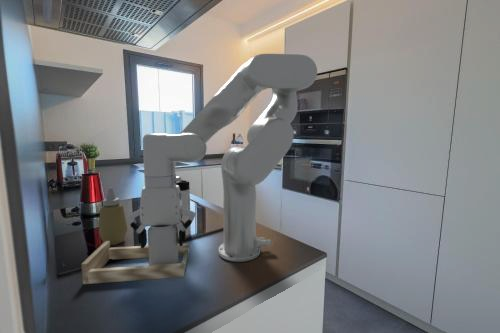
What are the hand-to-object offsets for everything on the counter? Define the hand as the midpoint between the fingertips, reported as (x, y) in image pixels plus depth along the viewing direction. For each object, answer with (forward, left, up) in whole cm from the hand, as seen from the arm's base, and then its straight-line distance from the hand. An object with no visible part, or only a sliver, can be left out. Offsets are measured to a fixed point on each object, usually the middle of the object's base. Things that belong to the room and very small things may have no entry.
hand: (163, 244), depth 65 cm
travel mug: (-2, -19, -6) cm, 20 cm away
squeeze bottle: (+19, -17, -6) cm, 26 cm away
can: (0, 0, -6) cm, 6 cm away
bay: (+6, 0, -6) cm, 8 cm away
